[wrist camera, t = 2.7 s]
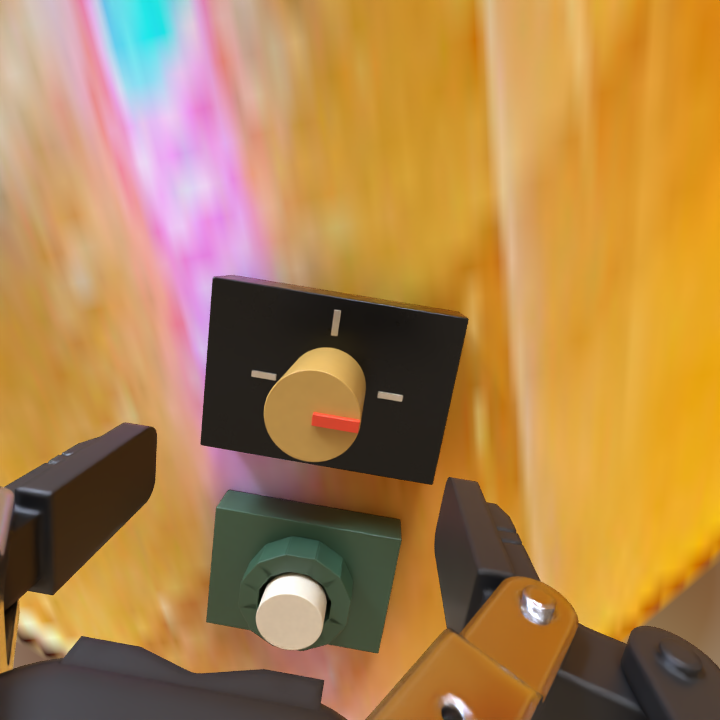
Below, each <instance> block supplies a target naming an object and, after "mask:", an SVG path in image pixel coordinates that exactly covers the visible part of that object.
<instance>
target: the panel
mask: <svg viewBox="0 0 720 720" xmlns="http://www.w3.org/2000/svg"><path fill="white" fill-rule="evenodd" d="M467 325H468V318H467V317H465V316H464V315H462V314H461V313H459V312H456V311H450V310H444V309H438V308H432V307H426V306H420V305H413V304H407V303H401V302H395V301H389V300H383V299H377V298H370V297H364V296H358V295H352V294H346V293H340V292H334V291H328V290H321V289H315V288H309V287H303V286H297V285H291V284H285V283H278V282H272V281H266V280H260V279H254V278H248V277H242V276H236V275H228V276H216V277H213V282H212V296H211V309H210V323H209V336H208V350H207V364H206V377H205V391H204V404H203V418H202V431H201V445H204V446H210V447H215V448H221V449H227V450H233V451H239V452H244V453H250V454H256V455H262V456H268V457H273V458H279V459H285V460H291V461H297V462H302V463H308V464H314V465H320V466H326V467H331V468H337V469H343V470H349V471H355V472H360V473H366V474H372V475H378V476H384V477H389V478H395V479H401V480H407V481H413V482H418V483H424V484H430V485H432V484H433V481H434V476H435V471H436V467H437V462H438V458H439V453H440V448H441V444H442V439H443V435H444V430H445V426H446V421H447V416H448V412H449V407H450V403H451V398H452V393H453V389H454V384H455V380H456V375H457V370H458V366H459V361H460V357H461V352H462V348H463V343H464V338H465V334H466V329H467ZM317 348H334V349H338V350H341V351H343V352H345V353H347V354H348V355H350V356H351V357H352V358H353V359H355V360H356V362H357V363H358V364H359V366H360V367H361V369H362V371H363V373H364V376H365V381H366V393H365V399H364V405H363V412H362V418H361V425H360V429H359V432H358V435H357V437H356V439H355V441H354V442H353V444H352V445H351V446H350V447H349V448H348V449H347V450H346V451H345V452H344V453H342V454H341V455H339V456H337V457H335V458H333V459H330V460H327V461H322V462H307V461H302V460H299V459H296V458H293V457H291V456H289V455H288V454H286V453H285V452H283V451H282V450H281V449H280V448H279V447H278V446H277V445H276V444H275V443H274V442H273V440H272V439H271V437H270V435H269V434H268V431H267V429H266V426H265V421H264V406H265V402H266V399H267V396H268V394H269V392H270V391H271V389H272V388H273V386H274V385H275V384H276V383H277V382H278V381H279V380H280V379H281V377H282V376H283V375H284V374H285V373H286V372H287V371H288V370H289V369H290V368H291V366H292V365H293V364H294V363H295V362H296V361H297V360H298V359H299V358H300V357H301V356H302V355H303V354H305V353H307V352H309V351H311V350H313V349H317Z"/></svg>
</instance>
